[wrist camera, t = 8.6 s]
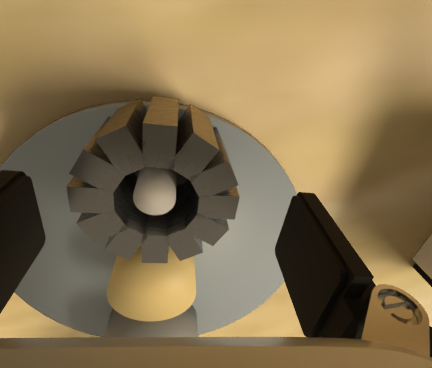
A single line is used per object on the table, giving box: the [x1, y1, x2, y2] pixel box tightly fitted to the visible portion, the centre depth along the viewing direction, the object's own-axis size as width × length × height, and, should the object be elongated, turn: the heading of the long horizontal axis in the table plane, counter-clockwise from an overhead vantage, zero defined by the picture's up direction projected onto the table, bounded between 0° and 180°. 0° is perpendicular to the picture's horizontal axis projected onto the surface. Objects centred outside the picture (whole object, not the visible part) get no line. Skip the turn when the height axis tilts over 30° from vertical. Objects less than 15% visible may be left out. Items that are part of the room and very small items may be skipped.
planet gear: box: [67, 96, 240, 263], centre depth 13 cm, size 7×7×4 cm
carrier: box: [0, 100, 297, 337], centre depth 17 cm, size 20×20×4 cm
